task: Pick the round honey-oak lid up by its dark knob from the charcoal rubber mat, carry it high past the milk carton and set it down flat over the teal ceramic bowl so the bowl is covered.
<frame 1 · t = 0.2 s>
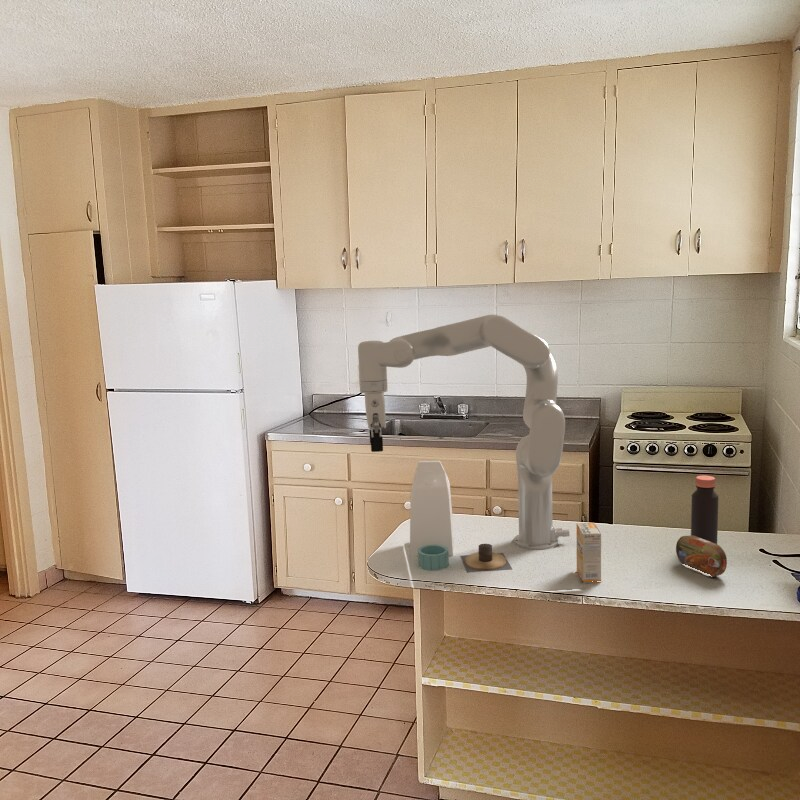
hand: (376, 447, 210), 31 cm above the countertop, tool pointing down, fingers open, 9 cm apart
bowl: (433, 566, 204), on the countertop
lid: (485, 562, 204), resting on mat
bottle: (703, 548, 209), on the countertop
supplement box: (588, 577, 193), on the countertop
tin: (700, 571, 194), on the countertop
mat: (485, 563, 204), on the countertop
milk: (432, 550, 216), on the countertop
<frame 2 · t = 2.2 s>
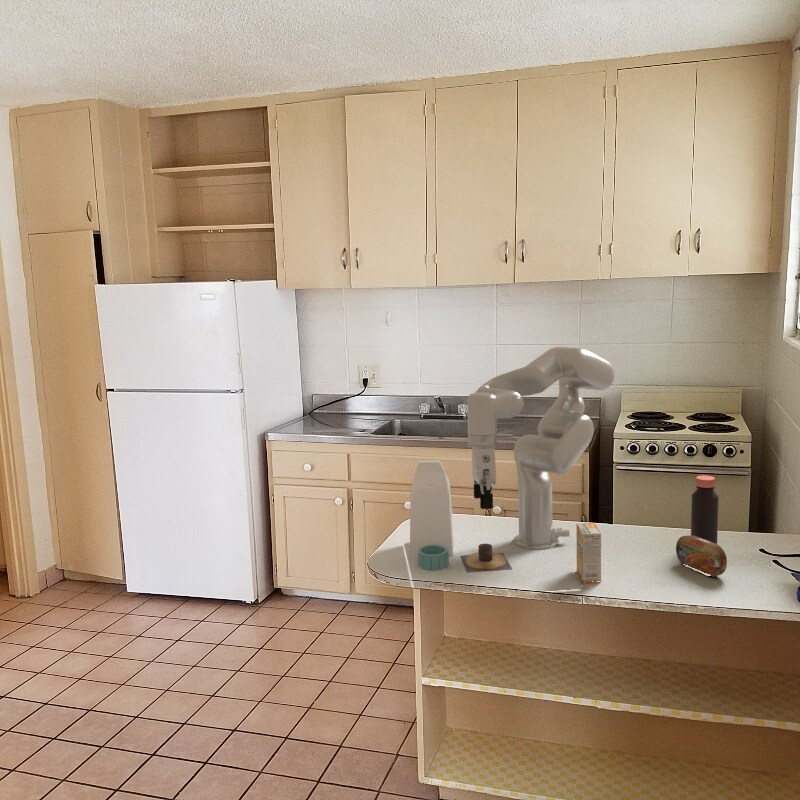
hand: (483, 503, 201), 17 cm above the countertop, tool pointing down, fingers open, 9 cm apart
nothing on the countertop moved.
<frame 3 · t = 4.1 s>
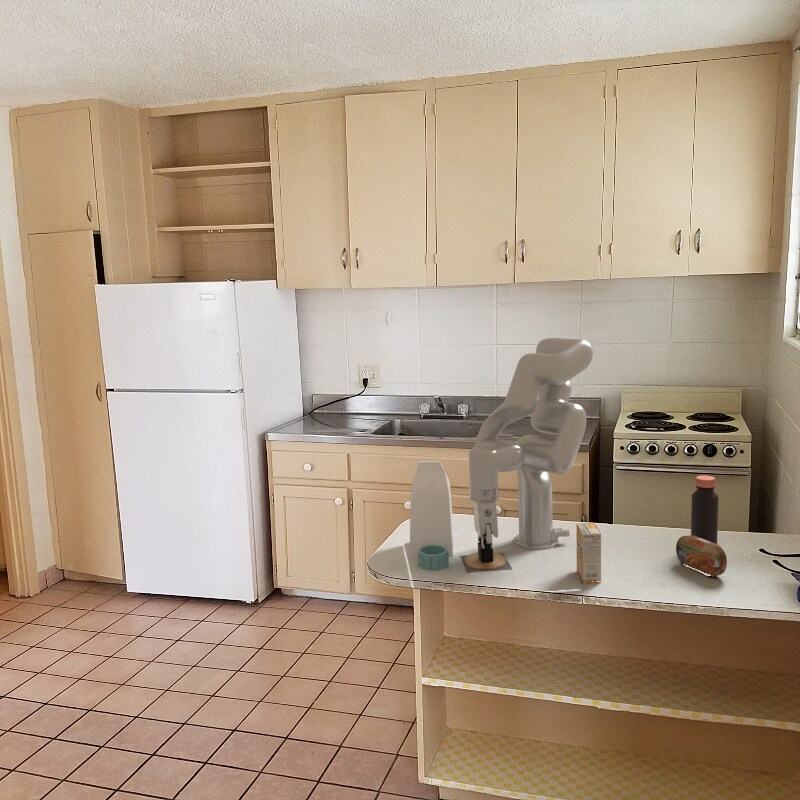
hand: (485, 558, 204), 2 cm above the countertop, tool pointing down, fingers closed on lid, 3 cm apart
lid: (485, 562, 204), point 1 cm above the countertop, touching gripper, mat
everything else where it was.
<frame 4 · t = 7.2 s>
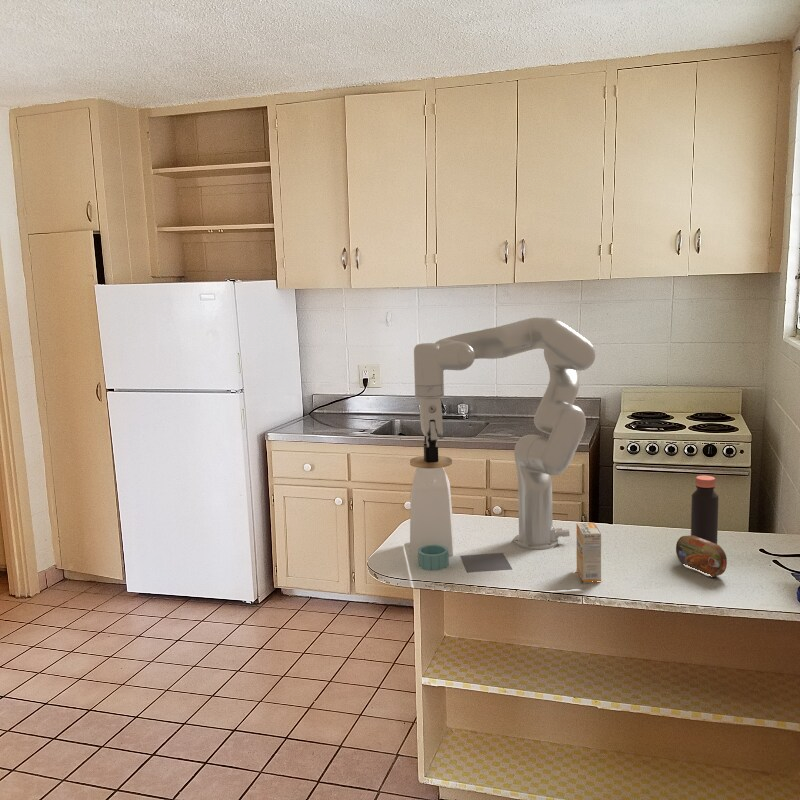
hand: (431, 459, 199), 30 cm above the countertop, tool pointing down, fingers closed on lid, 3 cm apart
lid: (431, 463, 199), point 28 cm above the countertop, touching gripper
everything else where it was.
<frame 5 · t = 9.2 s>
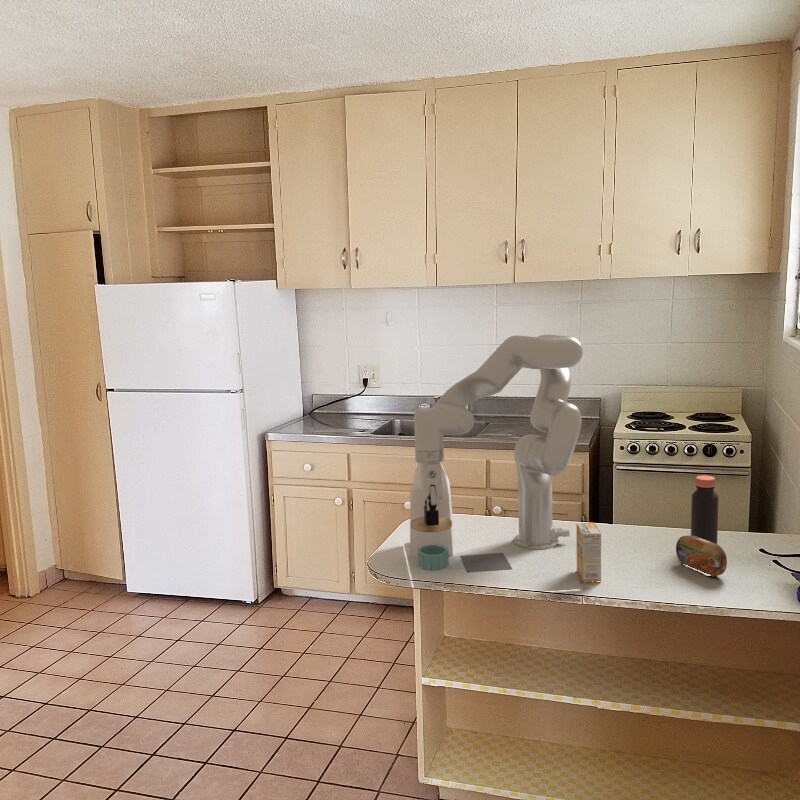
hand: (431, 521, 202), 12 cm above the countertop, tool pointing down, fingers closed on lid, 3 cm apart
lid: (431, 525, 202), point 11 cm above the countertop, touching gripper
everything else where it was.
when the fingers open (7 cm above the countertop, at t = 10.6 s): lid drops 1 cm, resting on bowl.
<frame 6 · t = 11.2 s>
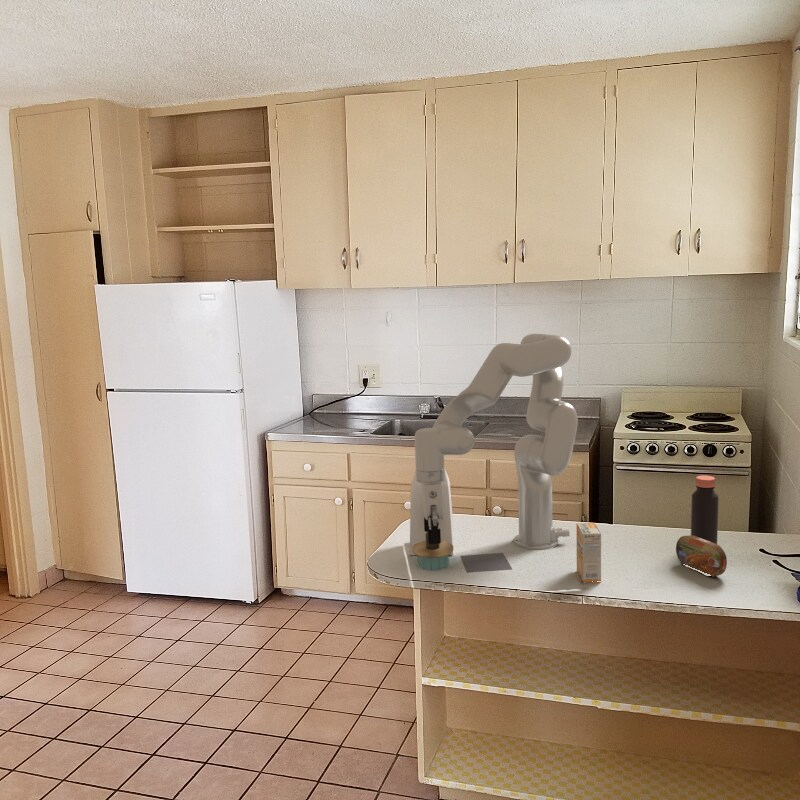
hand: (432, 537, 203), 8 cm above the countertop, tool pointing down, fingers open, 9 cm apart
lid: (432, 550, 203), point 4 cm above the countertop, touching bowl
milk: (432, 549, 216), on the countertop, touching gripper
everything else where it was.
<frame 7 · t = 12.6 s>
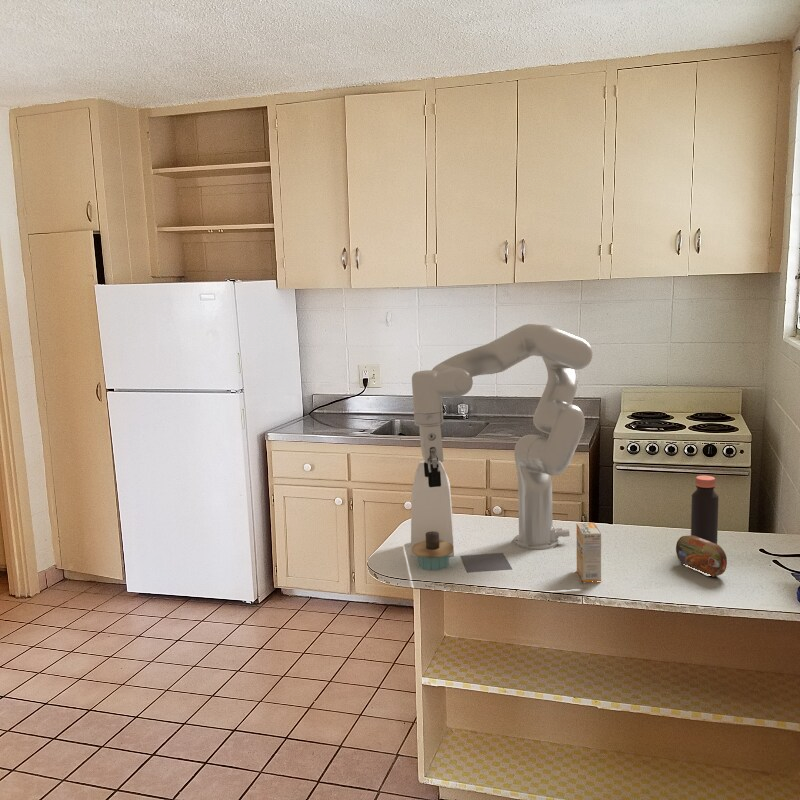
hand: (432, 481, 201), 23 cm above the countertop, tool pointing down, fingers open, 9 cm apart
milk: (433, 551, 216), on the countertop
everything else where it was.
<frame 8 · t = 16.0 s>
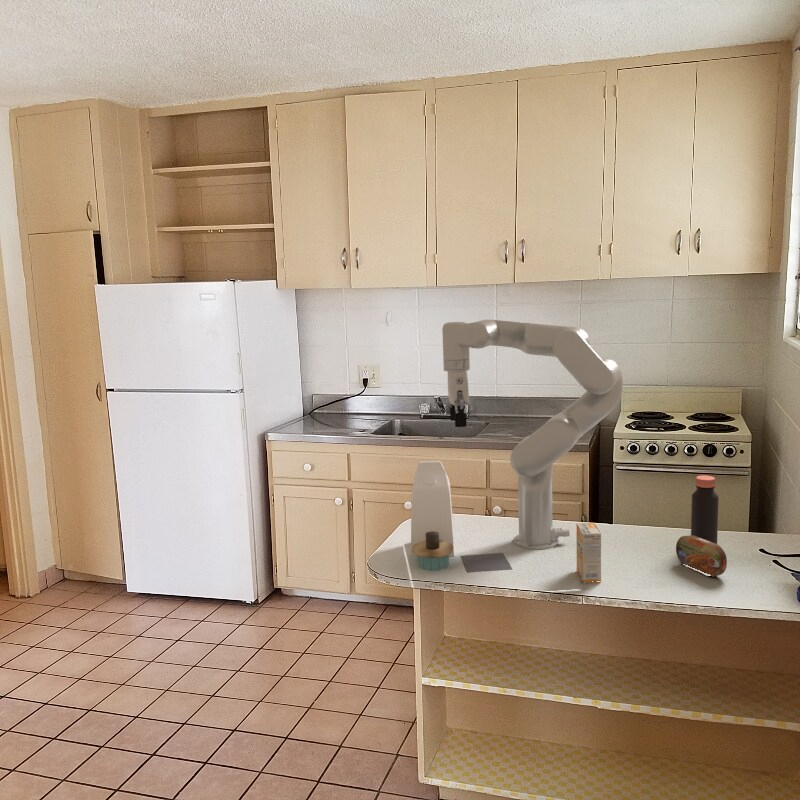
hand: (458, 423, 221), 34 cm above the countertop, tool pointing down, fingers open, 9 cm apart
nothing on the countertop moved.
at the end: lid 0.1 cm off-centre on the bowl, point 4.5 cm above the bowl's base; lid tilted 0°; the gripper is holding nothing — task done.
